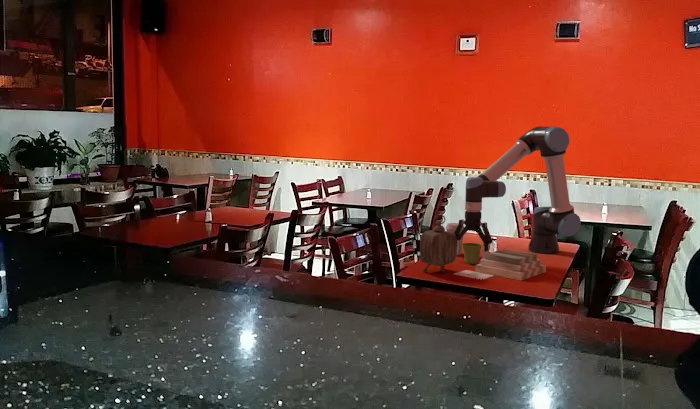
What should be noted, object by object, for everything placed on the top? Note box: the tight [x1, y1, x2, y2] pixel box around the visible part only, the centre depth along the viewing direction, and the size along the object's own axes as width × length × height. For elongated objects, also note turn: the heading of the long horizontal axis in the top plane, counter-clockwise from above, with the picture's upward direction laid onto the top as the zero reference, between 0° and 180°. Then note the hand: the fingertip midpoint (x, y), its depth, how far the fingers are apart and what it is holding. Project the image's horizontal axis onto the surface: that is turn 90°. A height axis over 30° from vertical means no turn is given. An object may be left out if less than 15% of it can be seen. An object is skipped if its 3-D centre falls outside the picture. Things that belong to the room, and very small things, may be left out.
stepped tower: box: [474, 248, 547, 281], centre depth 274 cm, size 22×22×8 cm
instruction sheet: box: [453, 269, 495, 281], centre depth 268 cm, size 10×14×1 cm
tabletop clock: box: [419, 214, 457, 273], centre depth 271 cm, size 14×9×25 cm, turn 127°
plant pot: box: [462, 242, 483, 265], centre depth 291 cm, size 9×9×9 cm
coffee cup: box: [445, 222, 465, 256], centre depth 310 cm, size 10×10×15 cm
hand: (471, 256), depth 291 cm, fingers open, 13 cm apart
